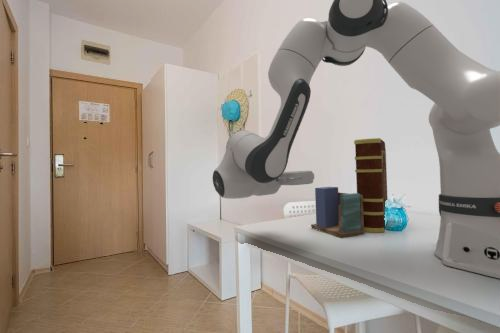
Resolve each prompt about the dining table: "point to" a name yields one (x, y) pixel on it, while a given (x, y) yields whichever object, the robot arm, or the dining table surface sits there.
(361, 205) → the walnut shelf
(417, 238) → the dining table surface
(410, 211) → the dining table surface
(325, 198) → the navy book
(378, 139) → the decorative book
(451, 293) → the dining table surface
